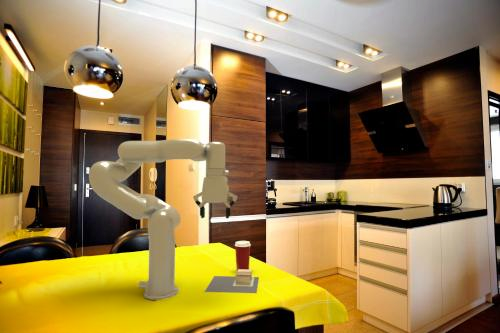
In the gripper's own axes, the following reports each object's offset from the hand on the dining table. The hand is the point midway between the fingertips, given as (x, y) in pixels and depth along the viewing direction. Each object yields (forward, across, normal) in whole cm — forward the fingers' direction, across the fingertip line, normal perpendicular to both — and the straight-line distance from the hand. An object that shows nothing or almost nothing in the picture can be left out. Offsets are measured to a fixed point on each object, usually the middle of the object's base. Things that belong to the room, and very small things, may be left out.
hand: (215, 217), depth 106 cm
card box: (+28, -10, -12) cm, 32 cm away
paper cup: (+28, -8, -25) cm, 39 cm away
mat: (+28, -6, -9) cm, 30 cm away
